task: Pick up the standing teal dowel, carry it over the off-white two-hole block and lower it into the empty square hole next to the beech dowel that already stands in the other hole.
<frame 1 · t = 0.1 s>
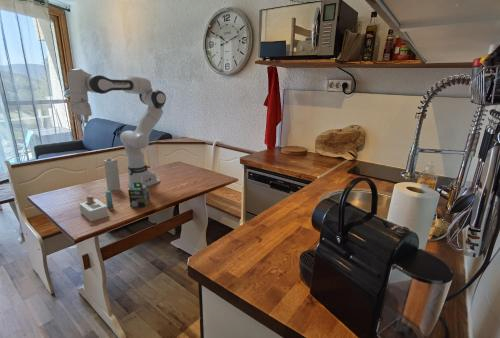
hand: (82, 122, 158), 48 cm above the table, tool pointing down, fingers open, 8 cm apart
hole block: (94, 214, 149), on the table
beech dowel: (92, 212, 151), resting in hole block
paper towel roll: (113, 189, 184), on the table
chalk box: (140, 204, 164), on the table
teal dowel: (110, 207, 158), on the table
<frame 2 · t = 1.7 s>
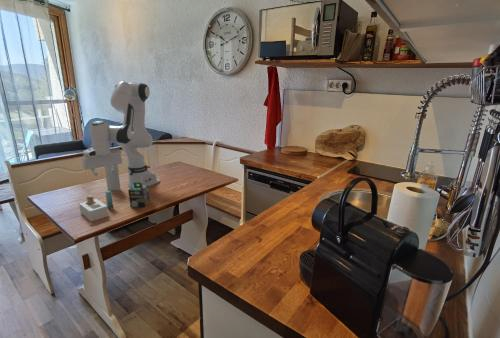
hand: (104, 173, 152), 21 cm above the table, tool pointing down, fingers open, 8 cm apart
nothing on the table moved.
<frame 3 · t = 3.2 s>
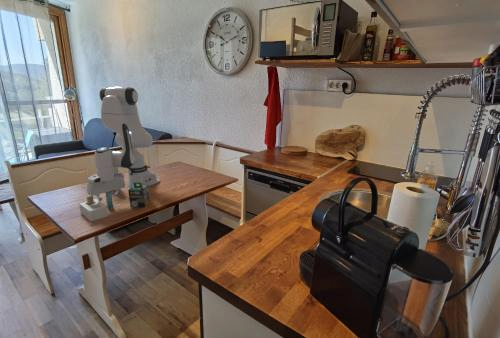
hand: (108, 198, 156), 6 cm above the table, tool pointing down, fingers open, 8 cm apart
nothing on the table moved.
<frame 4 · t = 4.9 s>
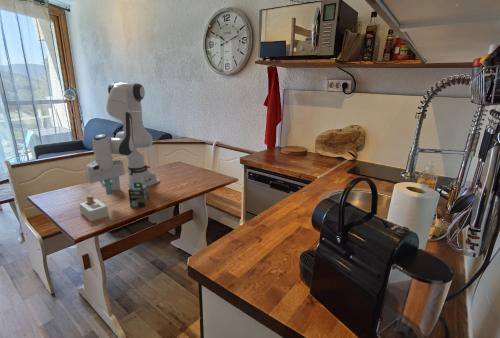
hand: (108, 185, 155), 13 cm above the table, tool pointing down, fingers closed on teal dowel, 3 cm apart
teal dowel: (109, 193, 157), point 8 cm above the table, touching gripper
everything else where it was.
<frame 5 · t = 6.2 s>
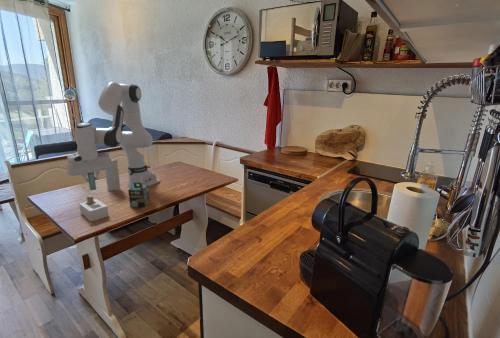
hand: (91, 180, 141), 21 cm above the table, tool pointing down, fingers closed on teal dowel, 3 cm apart
teal dowel: (93, 189, 142), point 16 cm above the table, touching gripper
everything else where it was.
when the fingers open (7 cm above the table, at t = 8.6 s): teal dowel drops 1 cm, resting in hole block.
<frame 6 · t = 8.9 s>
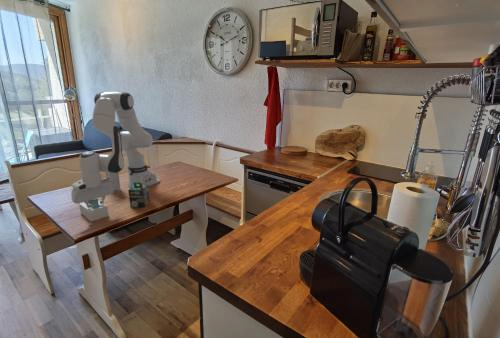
hand: (95, 205, 145), 7 cm above the table, tool pointing down, fingers open, 5 cm apart
teal dowel: (97, 216, 147), resting in hole block
everything else where it was.
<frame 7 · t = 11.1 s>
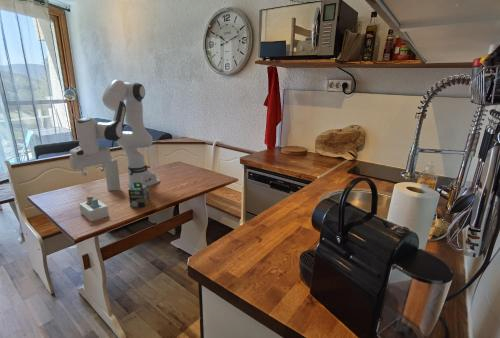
hand: (93, 173, 146), 23 cm above the table, tool pointing down, fingers open, 8 cm apart
nothing on the table moved.
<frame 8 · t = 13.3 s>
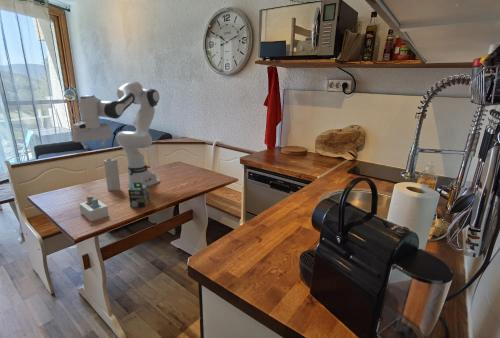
hand: (94, 147, 157), 34 cm above the table, tool pointing down, fingers open, 8 cm apart
nothing on the table moved.
at the end: teal dowel 0.0 cm from the target spot on the hole block, point 0.0 cm above the hole block's base; teal dowel tilted 1°; the gripper is holding nothing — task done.
